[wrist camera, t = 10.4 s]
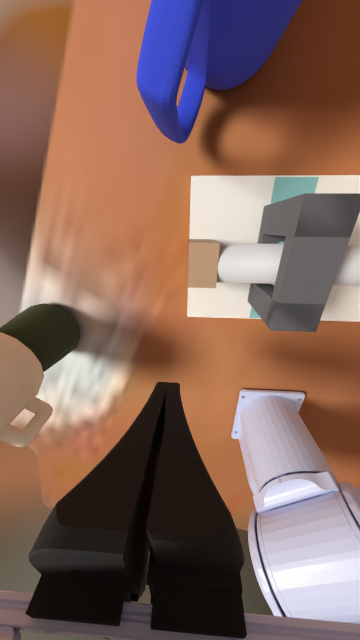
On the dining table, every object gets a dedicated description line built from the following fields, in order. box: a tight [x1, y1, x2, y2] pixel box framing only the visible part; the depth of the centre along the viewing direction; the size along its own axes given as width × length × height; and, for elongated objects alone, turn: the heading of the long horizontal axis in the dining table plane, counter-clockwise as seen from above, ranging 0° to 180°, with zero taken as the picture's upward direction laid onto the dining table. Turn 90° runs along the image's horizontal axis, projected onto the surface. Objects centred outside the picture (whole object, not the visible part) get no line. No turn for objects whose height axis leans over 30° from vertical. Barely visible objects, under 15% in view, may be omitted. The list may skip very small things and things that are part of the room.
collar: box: [248, 193, 360, 332], centre depth 14 cm, size 8×3×6 cm, turn 0°
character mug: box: [0, 304, 80, 447], centre depth 16 cm, size 11×7×13 cm, turn 51°
